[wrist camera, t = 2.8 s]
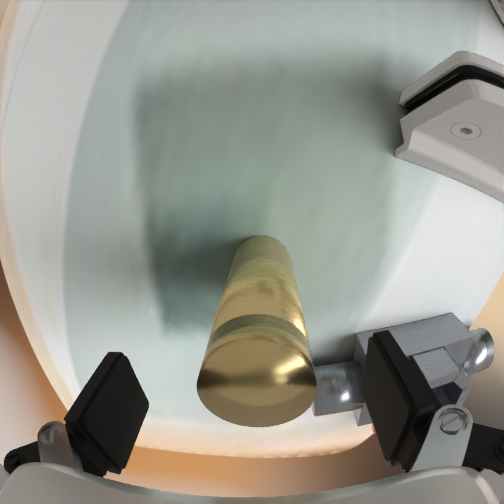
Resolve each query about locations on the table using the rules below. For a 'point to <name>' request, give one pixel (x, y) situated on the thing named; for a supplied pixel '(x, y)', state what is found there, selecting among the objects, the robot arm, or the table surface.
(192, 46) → the table surface
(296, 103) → the table surface
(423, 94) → the white slotted block
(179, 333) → the table surface
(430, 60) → the table surface
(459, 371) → the valve body
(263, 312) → the brass cylinder
